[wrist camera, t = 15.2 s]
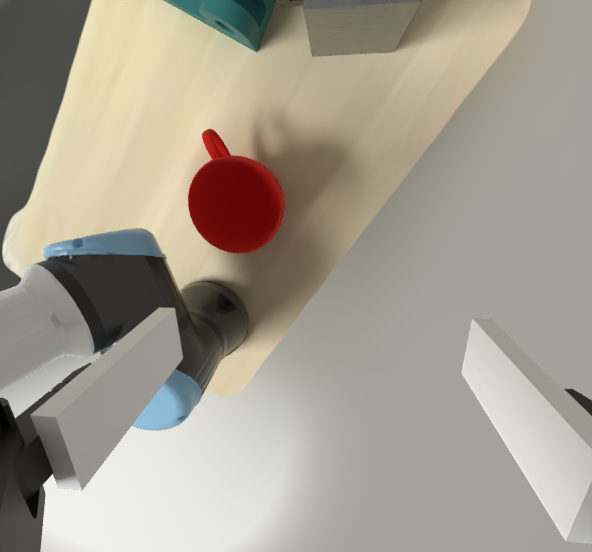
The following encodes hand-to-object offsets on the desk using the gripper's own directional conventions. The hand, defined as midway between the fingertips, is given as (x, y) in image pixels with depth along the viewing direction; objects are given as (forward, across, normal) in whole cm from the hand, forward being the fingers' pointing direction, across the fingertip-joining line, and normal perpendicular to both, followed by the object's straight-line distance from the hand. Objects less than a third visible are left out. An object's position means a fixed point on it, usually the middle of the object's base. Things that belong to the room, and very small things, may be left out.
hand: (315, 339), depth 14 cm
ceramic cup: (+39, -13, +4) cm, 41 cm away
